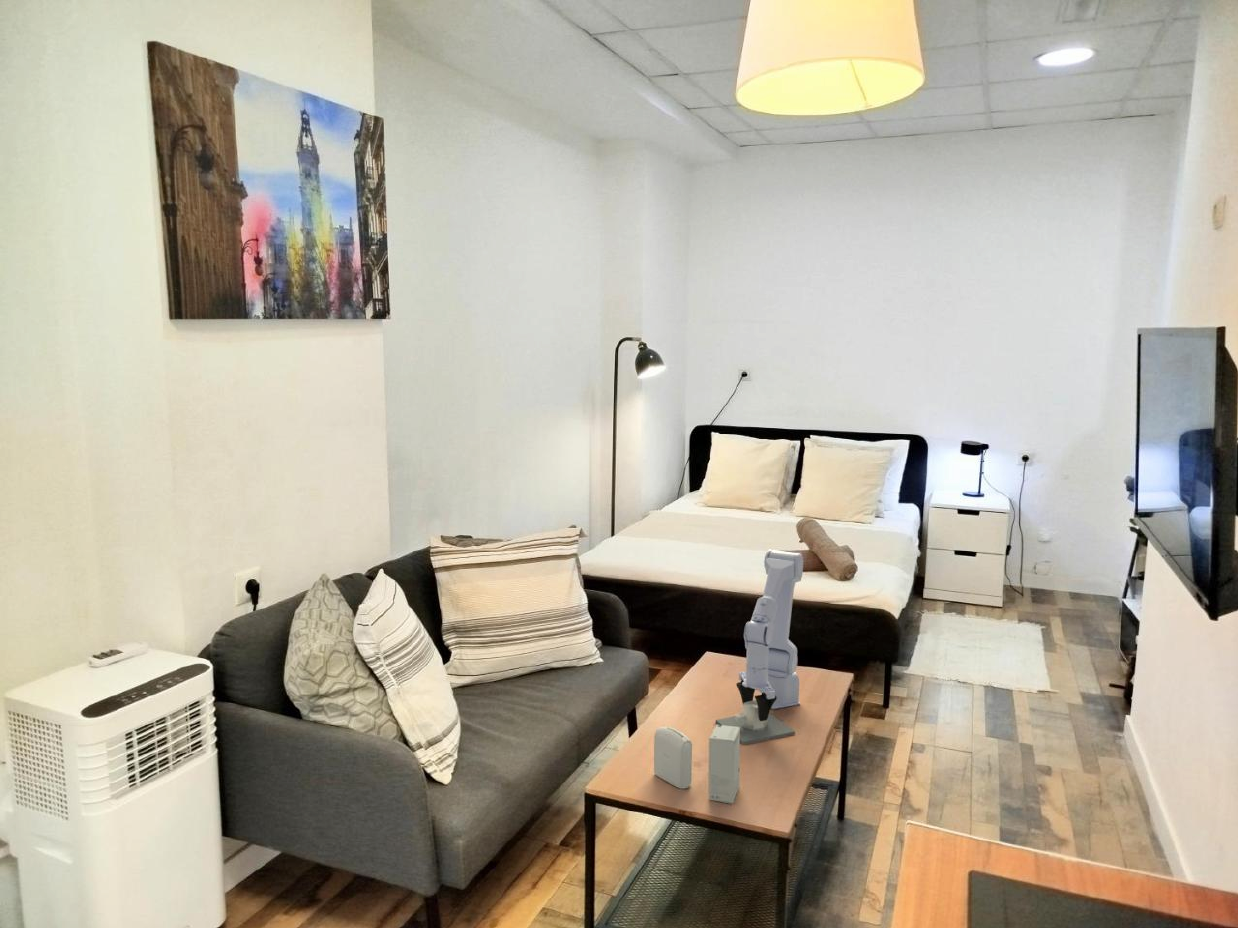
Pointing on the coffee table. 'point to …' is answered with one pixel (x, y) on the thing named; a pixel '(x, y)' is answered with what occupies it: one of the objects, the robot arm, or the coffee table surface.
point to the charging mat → (759, 729)
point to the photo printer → (673, 757)
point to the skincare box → (724, 763)
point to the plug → (750, 716)
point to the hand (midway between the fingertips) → (755, 714)
